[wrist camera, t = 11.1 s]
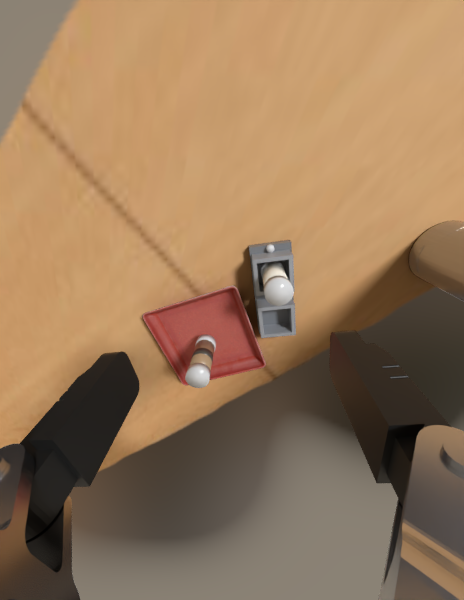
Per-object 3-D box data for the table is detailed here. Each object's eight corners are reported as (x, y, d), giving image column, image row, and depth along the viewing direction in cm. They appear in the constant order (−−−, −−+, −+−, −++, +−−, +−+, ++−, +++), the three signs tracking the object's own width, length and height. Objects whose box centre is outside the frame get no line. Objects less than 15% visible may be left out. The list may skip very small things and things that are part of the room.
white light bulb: (282, 257, 36) (293, 278, 28) (283, 278, 37) (294, 304, 29) (259, 260, 36) (263, 281, 28) (261, 281, 38) (265, 307, 30)
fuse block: (289, 239, 36) (295, 245, 32) (292, 325, 43) (297, 340, 39) (248, 244, 37) (249, 252, 33) (258, 329, 44) (260, 343, 40)
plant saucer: (146, 306, 43) (139, 315, 40) (236, 277, 40) (235, 284, 37) (187, 374, 51) (183, 386, 48) (266, 355, 47) (267, 367, 44)
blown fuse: (214, 333, 41) (206, 369, 33) (217, 349, 43) (211, 386, 35) (194, 335, 42) (182, 371, 34) (199, 350, 43) (188, 388, 35)
